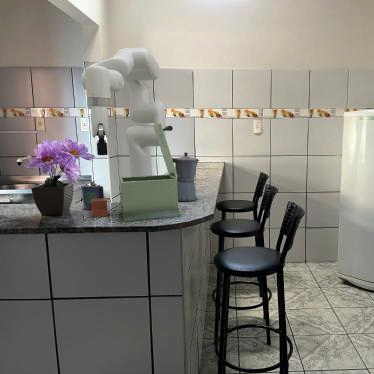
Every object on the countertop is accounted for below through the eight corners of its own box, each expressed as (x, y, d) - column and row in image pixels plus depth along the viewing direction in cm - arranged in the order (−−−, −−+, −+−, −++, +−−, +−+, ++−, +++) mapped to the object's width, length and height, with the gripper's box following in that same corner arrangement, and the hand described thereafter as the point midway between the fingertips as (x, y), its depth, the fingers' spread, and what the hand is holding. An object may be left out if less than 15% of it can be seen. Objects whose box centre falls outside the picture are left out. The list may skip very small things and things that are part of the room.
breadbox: (123, 221, 116) (121, 182, 114) (121, 212, 130) (119, 177, 128) (178, 216, 123) (177, 178, 121) (171, 208, 136) (169, 174, 134)
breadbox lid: (158, 123, 116) (172, 119, 118) (152, 124, 130) (165, 121, 131) (175, 178, 121) (189, 173, 122) (168, 173, 134) (180, 169, 136)
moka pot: (206, 198, 155) (204, 152, 152) (175, 204, 144) (173, 153, 141) (193, 196, 161) (191, 151, 158) (162, 201, 151) (160, 153, 148)
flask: (82, 209, 136) (79, 181, 135) (87, 207, 139) (85, 180, 138) (102, 210, 134) (100, 182, 132) (107, 209, 136) (105, 181, 135)
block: (92, 214, 127) (91, 199, 127) (107, 213, 129) (106, 197, 128) (92, 217, 123) (90, 201, 122) (107, 216, 125) (106, 200, 124)
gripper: (88, 106, 130) (91, 154, 132) (86, 101, 114) (89, 156, 116) (110, 106, 132) (113, 153, 135) (111, 102, 117) (114, 155, 119)
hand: (102, 154), depth 125 cm, fingers open, 9 cm apart
